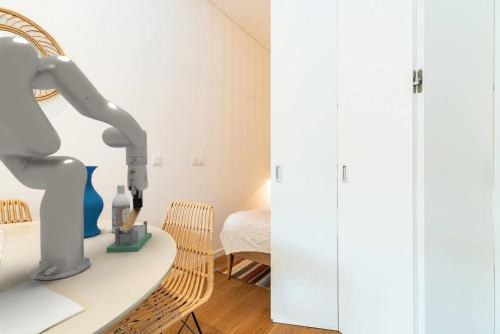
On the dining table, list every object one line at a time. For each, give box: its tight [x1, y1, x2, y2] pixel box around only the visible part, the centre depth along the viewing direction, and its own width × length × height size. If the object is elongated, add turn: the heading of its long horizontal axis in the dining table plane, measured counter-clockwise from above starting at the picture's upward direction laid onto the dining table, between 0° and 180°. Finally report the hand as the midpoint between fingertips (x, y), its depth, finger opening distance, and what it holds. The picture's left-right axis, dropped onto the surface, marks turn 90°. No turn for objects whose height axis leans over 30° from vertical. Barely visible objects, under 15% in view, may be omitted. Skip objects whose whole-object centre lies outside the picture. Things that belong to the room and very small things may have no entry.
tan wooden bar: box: [119, 207, 142, 234], centre depth 88 cm, size 14×3×1 cm, turn 7°
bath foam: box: [111, 184, 131, 234], centre depth 104 cm, size 7×7×20 cm
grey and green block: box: [106, 220, 153, 253], centre depth 88 cm, size 16×10×8 cm, turn 7°
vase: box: [83, 165, 105, 238], centre depth 98 cm, size 12×13×28 cm
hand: (137, 207), depth 95 cm, fingers closed
